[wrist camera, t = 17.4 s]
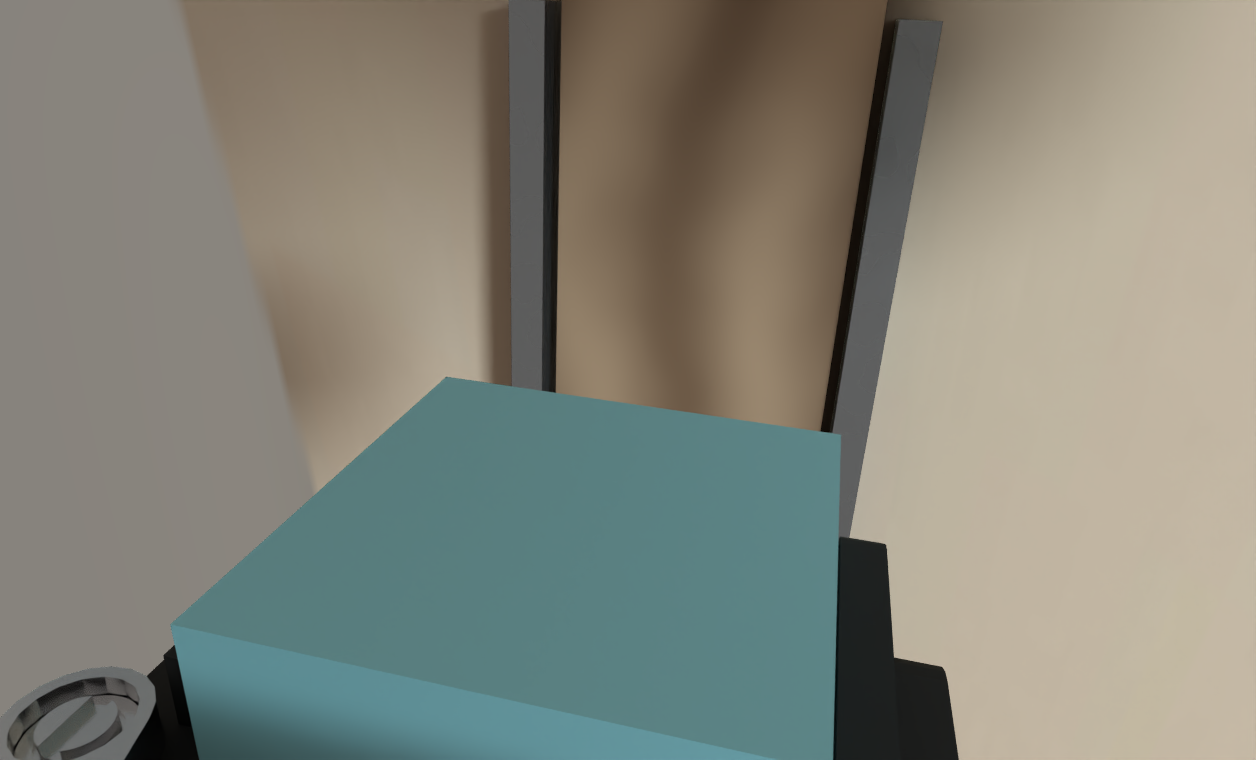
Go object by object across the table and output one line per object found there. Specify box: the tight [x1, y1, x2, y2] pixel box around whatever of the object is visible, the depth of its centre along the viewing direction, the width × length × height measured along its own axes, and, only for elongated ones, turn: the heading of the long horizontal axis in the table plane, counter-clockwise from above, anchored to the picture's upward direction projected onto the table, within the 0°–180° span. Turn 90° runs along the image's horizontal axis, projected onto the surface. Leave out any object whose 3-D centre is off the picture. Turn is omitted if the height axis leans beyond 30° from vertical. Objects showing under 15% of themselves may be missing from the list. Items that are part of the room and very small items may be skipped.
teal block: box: [171, 377, 841, 760], centre depth 9 cm, size 5×5×5 cm
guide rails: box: [509, 0, 943, 541], centre depth 33 cm, size 13×32×2 cm, turn 177°
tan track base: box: [556, 0, 888, 432], centre depth 26 cm, size 10×30×7 cm, turn 177°
